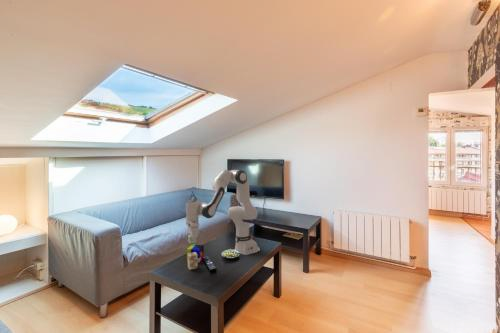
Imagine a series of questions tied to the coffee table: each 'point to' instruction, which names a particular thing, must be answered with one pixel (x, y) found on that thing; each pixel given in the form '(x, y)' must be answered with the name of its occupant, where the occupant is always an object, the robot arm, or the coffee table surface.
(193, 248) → the puzzle toy
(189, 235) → the sage cube
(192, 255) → the tower mid
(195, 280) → the coffee table surface
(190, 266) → the tower base
